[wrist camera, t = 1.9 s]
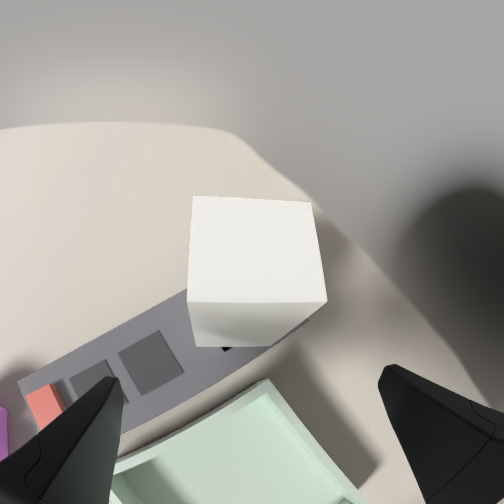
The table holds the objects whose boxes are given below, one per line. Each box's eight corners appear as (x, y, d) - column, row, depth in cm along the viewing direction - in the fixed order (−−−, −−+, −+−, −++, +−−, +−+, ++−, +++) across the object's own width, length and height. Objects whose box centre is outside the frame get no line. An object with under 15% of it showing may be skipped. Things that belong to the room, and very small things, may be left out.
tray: (351, 496, 15) (374, 508, 11) (215, 574, 10) (218, 597, 7) (258, 380, 19) (268, 378, 16) (108, 462, 14) (90, 473, 11)
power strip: (250, 268, 23) (259, 244, 19) (295, 330, 21) (313, 317, 17) (37, 384, 15) (10, 380, 12) (73, 454, 13) (49, 463, 10)
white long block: (263, 350, 19) (327, 301, 9) (197, 350, 18) (186, 301, 8) (260, 295, 21) (310, 202, 11) (197, 295, 20) (193, 195, 10)
